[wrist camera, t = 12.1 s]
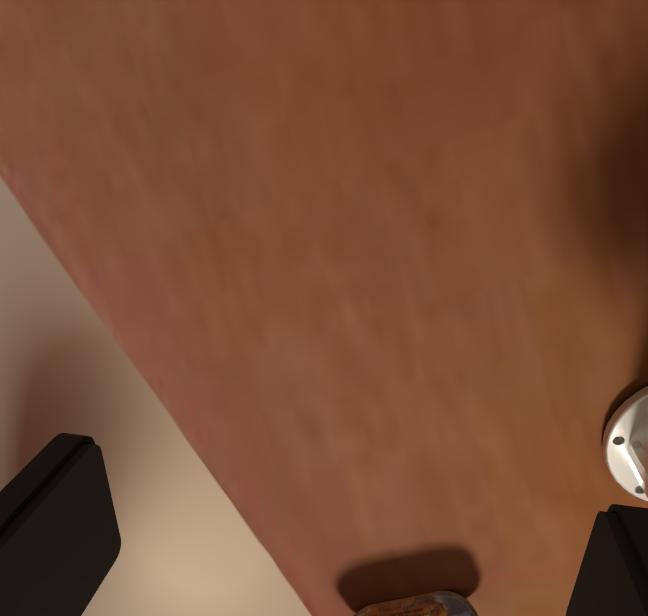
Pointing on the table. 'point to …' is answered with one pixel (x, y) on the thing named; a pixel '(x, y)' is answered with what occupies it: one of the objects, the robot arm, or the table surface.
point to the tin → (422, 606)
